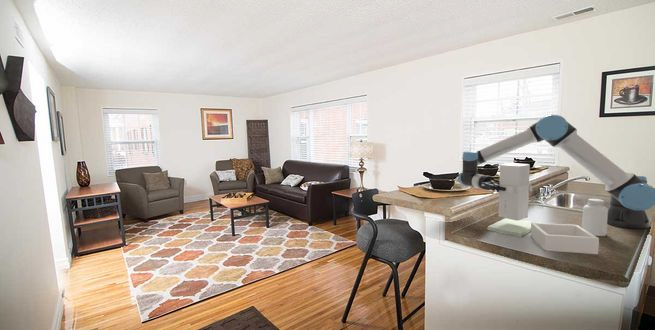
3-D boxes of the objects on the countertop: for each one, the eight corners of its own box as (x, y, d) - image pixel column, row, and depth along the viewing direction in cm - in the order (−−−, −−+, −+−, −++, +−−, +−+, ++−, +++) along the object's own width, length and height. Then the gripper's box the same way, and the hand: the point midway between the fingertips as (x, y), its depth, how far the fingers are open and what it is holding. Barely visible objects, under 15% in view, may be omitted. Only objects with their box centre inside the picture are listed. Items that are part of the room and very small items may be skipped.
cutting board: (507, 220, 152) (507, 217, 152) (539, 226, 141) (539, 222, 141) (487, 229, 139) (487, 226, 139) (521, 237, 128) (521, 233, 127)
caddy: (576, 238, 123) (577, 224, 123) (598, 254, 108) (598, 238, 107) (530, 236, 128) (531, 222, 128) (545, 250, 113) (545, 235, 112)
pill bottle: (611, 237, 124) (613, 201, 122) (589, 236, 125) (591, 201, 124) (598, 230, 132) (600, 197, 130) (577, 230, 133) (579, 197, 132)
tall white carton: (498, 216, 141) (499, 164, 139) (508, 213, 145) (510, 163, 143) (517, 220, 134) (519, 166, 131) (528, 217, 138) (530, 164, 135)
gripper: (500, 187, 159) (540, 195, 138) (465, 191, 152) (502, 199, 131) (500, 173, 158) (541, 179, 137) (465, 176, 152) (502, 183, 130)
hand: (522, 189), depth 134 cm, fingers closed on tall white carton, 10 cm apart
